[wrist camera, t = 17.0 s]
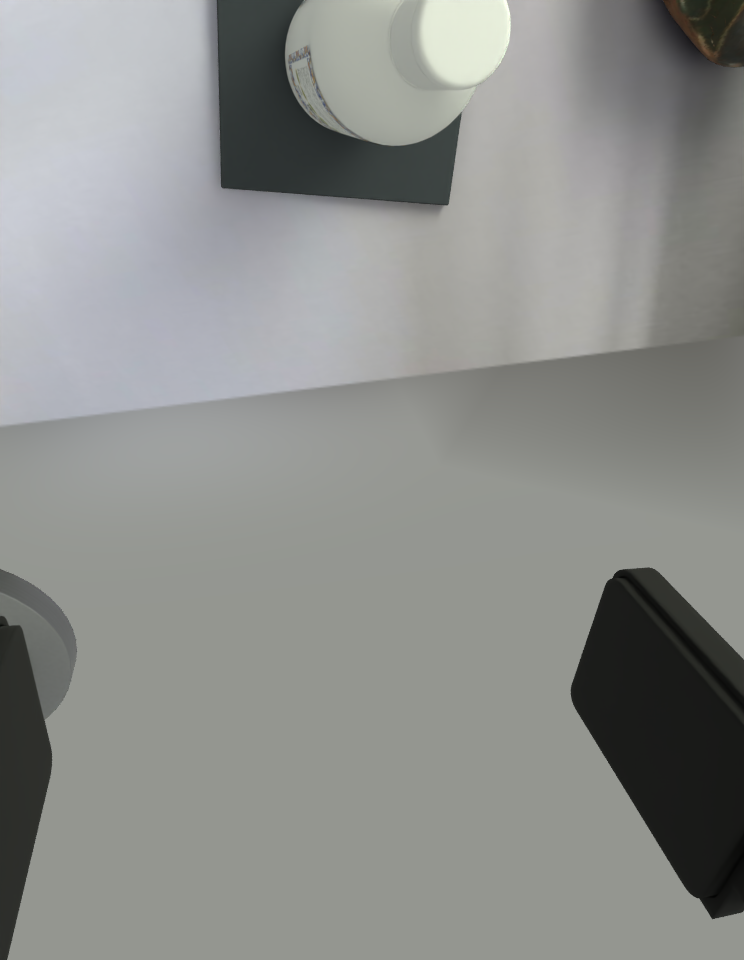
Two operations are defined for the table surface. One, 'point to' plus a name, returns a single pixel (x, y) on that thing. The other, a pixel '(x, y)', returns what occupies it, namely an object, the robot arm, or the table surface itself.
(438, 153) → the mat
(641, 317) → the table surface
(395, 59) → the bath foam
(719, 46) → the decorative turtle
